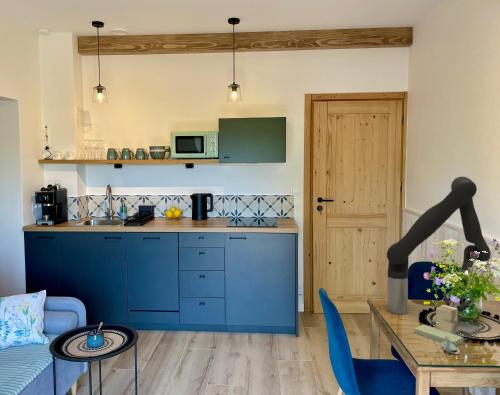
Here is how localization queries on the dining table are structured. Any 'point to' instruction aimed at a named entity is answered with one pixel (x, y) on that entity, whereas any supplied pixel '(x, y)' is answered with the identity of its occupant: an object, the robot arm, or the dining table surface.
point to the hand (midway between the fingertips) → (450, 316)
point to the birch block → (446, 318)
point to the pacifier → (449, 346)
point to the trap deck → (453, 336)
